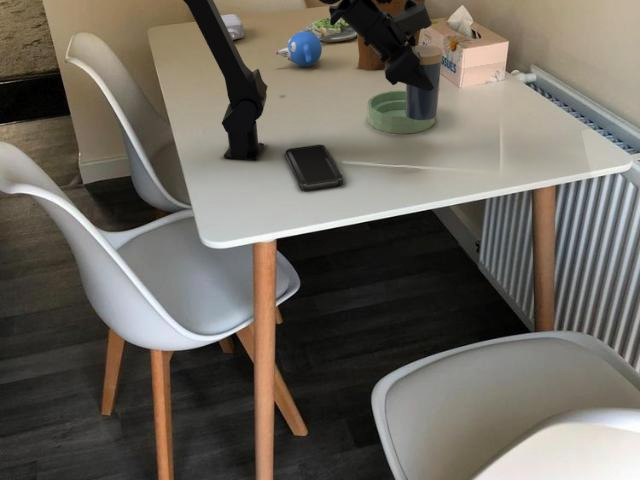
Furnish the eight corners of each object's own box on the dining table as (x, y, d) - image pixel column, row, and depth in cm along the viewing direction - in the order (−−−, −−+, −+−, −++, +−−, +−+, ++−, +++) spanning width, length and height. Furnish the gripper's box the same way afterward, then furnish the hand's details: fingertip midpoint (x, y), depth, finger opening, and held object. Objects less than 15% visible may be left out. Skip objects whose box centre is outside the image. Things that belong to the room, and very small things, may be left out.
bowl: (432, 138, 133) (433, 118, 131) (362, 134, 136) (362, 114, 134) (437, 110, 145) (438, 92, 142) (372, 107, 147) (373, 89, 145)
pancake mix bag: (431, 66, 167) (438, -54, 152) (357, 74, 164) (356, -48, 149) (422, 58, 173) (428, -59, 157) (350, 65, 170) (349, -53, 154)
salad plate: (346, 49, 180) (346, 32, 178) (289, 41, 187) (288, 25, 185) (375, 29, 194) (376, 13, 192) (321, 23, 202) (320, 7, 199)
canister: (428, 123, 122) (432, 58, 115) (397, 116, 125) (400, 52, 118) (443, 111, 126) (448, 48, 119) (414, 104, 129) (417, 42, 122)
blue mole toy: (271, 61, 174) (268, 29, 170) (315, 56, 177) (314, 24, 172) (281, 77, 165) (279, 43, 160) (327, 71, 167) (326, 37, 162)
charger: (215, 48, 185) (207, 33, 197) (248, 44, 187) (238, 29, 199) (213, 31, 182) (205, 16, 194) (246, 27, 184) (237, 13, 196)
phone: (301, 186, 116) (284, 149, 129) (301, 191, 117) (284, 154, 129) (344, 179, 118) (324, 143, 130) (344, 185, 118) (324, 148, 131)
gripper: (409, 2, 105) (473, 70, 111) (401, -25, 120) (457, 35, 126) (358, 53, 110) (422, 115, 115) (357, 20, 125) (413, 76, 131)
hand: (430, 83), depth 122 cm, fingers closed on canister, 6 cm apart
